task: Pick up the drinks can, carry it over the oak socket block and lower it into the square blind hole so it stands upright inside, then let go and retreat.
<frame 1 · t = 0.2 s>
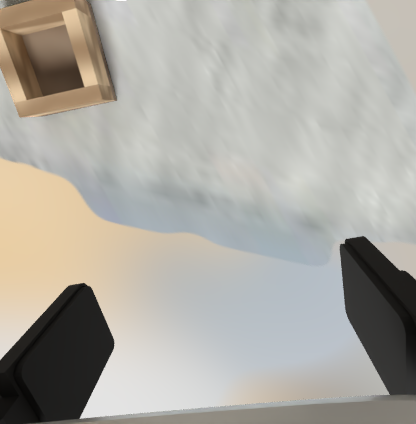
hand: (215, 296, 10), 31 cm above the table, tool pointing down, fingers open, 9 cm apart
socket block: (64, 64, 37), on the table
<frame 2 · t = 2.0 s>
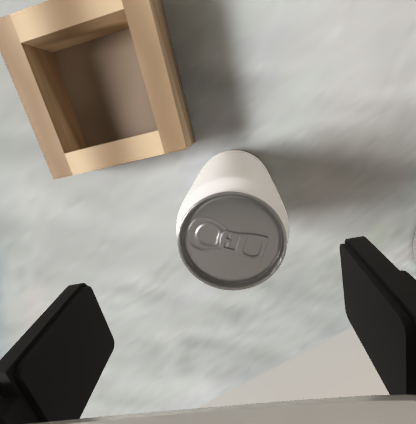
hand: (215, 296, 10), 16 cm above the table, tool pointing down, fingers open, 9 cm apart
socket block: (117, 91, 24), on the table
can: (233, 184, 26), on the table
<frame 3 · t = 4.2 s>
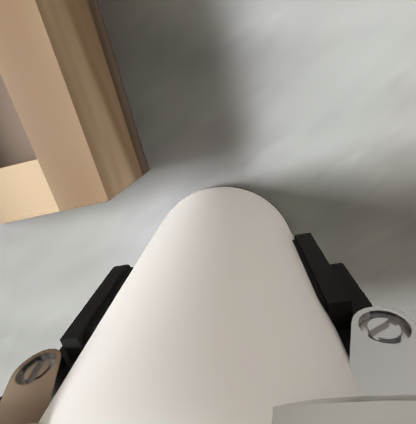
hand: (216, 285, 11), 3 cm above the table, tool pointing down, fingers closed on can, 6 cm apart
can: (224, 245, 14), on the table, touching gripper
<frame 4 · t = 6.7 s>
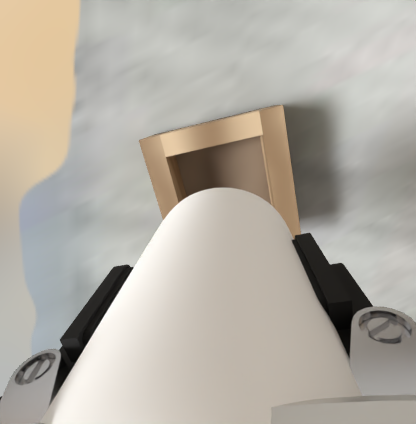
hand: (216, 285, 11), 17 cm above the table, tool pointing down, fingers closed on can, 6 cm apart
socket block: (224, 179, 27), on the table
can: (223, 246, 14), point 14 cm above the table, touching gripper
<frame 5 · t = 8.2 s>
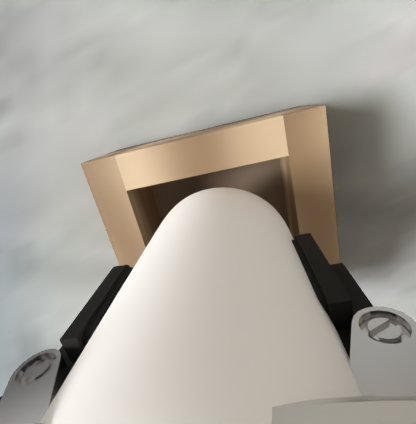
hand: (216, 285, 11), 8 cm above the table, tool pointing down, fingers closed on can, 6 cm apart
socket block: (224, 215, 18), on the table
can: (223, 246, 14), point 4 cm above the table, touching gripper
when the fingers open (6 cm above the table, at t = 9.5 s): can drops 2 cm, resting on socket block.
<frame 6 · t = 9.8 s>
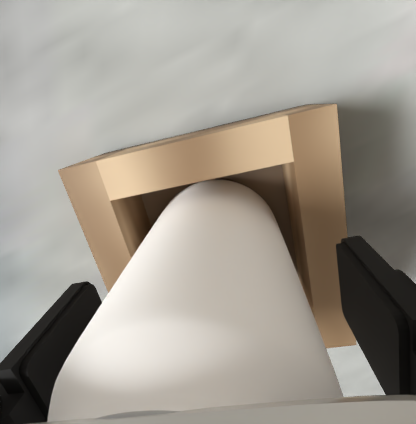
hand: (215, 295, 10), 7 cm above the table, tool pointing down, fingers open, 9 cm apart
socket block: (221, 224, 17), on the table
can: (218, 232, 16), point 1 cm above the table, touching socket block
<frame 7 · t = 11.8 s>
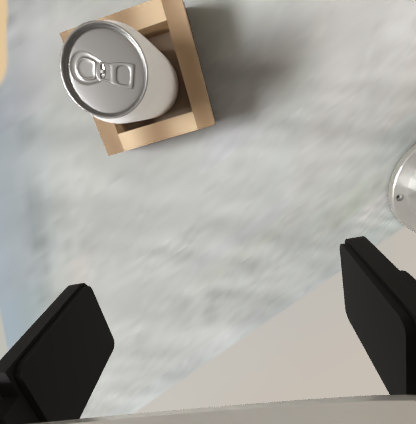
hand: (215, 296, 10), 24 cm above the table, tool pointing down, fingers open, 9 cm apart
socket block: (151, 84, 30), on the table
can: (148, 85, 29), point 1 cm above the table, touching socket block
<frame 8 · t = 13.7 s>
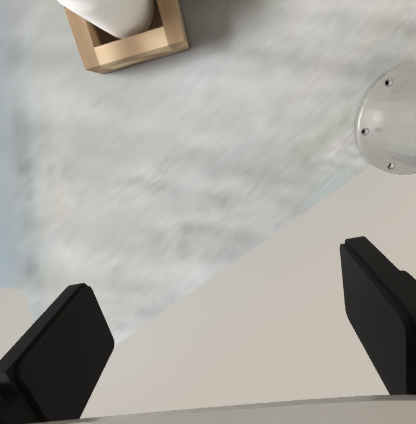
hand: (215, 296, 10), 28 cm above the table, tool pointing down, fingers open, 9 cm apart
socket block: (130, 8, 32), on the table
can: (127, 7, 31), point 1 cm above the table, touching socket block
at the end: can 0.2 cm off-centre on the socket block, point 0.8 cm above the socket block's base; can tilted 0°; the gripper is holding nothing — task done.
